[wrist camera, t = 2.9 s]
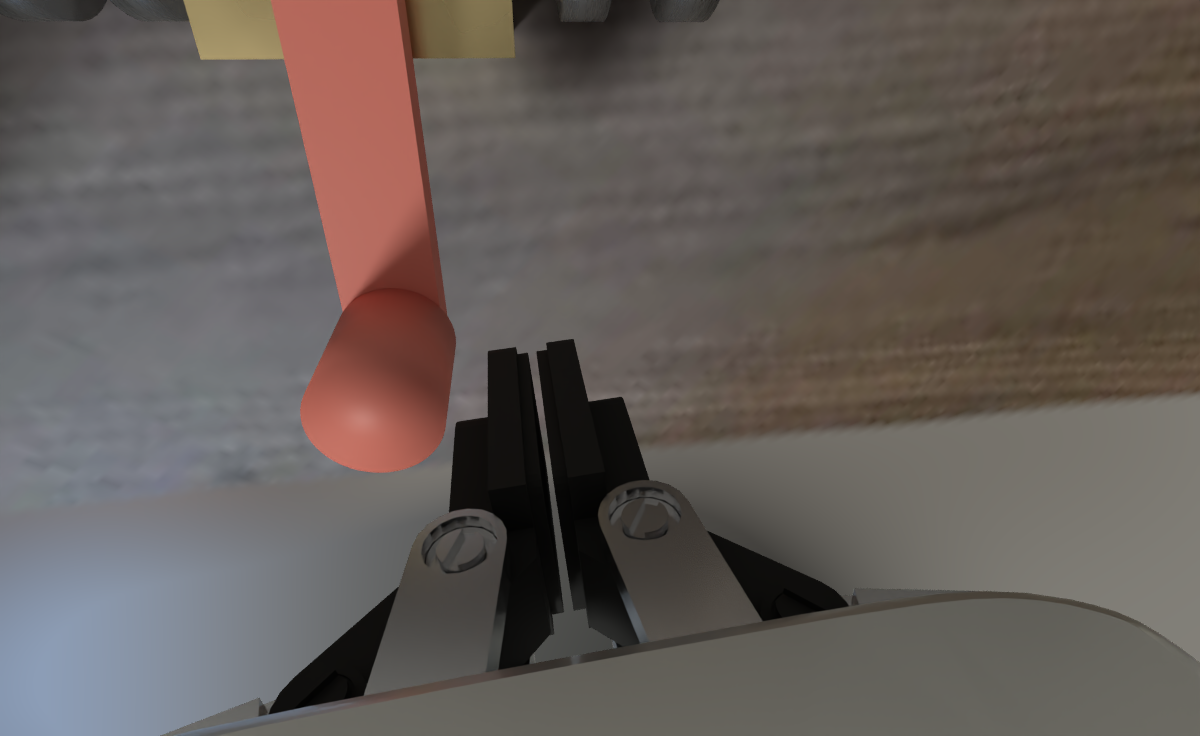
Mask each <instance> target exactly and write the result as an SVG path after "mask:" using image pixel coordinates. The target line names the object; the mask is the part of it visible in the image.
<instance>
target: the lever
mask: <svg viewBox="0 0 1200 736" xmlns="http://www.w3.org/2000/svg"><path fill="white" fill-rule="evenodd" d="M271 4H272V8H273V13H274V17H275V21H276V25H277V30H278V34H279V38H280V43H281V47H282V51H283V56H284V60H285V64H286V69H287V73H288V77H289V81H290V86H291V90H292V94H293V99H294V103H295V107H296V112H297V116H298V120H299V125H300V129H301V133H302V137H303V142H304V146H305V150H306V155H307V159H308V163H309V168H310V172H311V176H312V181H313V185H314V189H315V193H316V198H317V202H318V206H319V211H320V215H321V219H322V224H323V228H324V232H325V237H326V241H327V245H328V249H329V254H330V258H331V262H332V267H333V271H334V275H335V280H336V284H337V288H338V293H339V297H340V301H341V306H342V310H343V313H342V315H341V317H340V319H339V321H338V323H337V325H336V327H335V329H334V331H333V334H332V336H331V338H330V340H329V342H328V344H327V346H326V349H325V351H324V353H323V355H322V357H321V359H320V361H319V364H318V366H317V368H316V370H315V372H314V374H313V376H312V379H311V381H310V383H309V385H308V387H307V389H306V391H305V394H304V396H303V399H302V402H301V409H300V412H301V421H302V425H303V428H304V430H305V433H306V434H307V436H308V438H309V439H310V441H311V442H312V443H313V444H314V446H315V447H316V448H317V449H318V450H319V451H320V452H322V453H323V454H324V455H326V456H327V457H328V458H330V459H332V460H333V461H335V462H337V463H339V464H341V465H343V466H346V467H349V468H352V469H356V470H360V471H366V472H376V473H381V472H393V471H398V470H403V469H406V468H409V467H412V466H414V465H416V464H418V463H420V462H421V461H423V460H424V459H426V458H427V457H428V456H430V455H431V454H432V453H433V452H434V451H435V449H436V448H437V447H438V445H439V444H440V442H441V440H442V438H443V435H444V432H445V427H446V419H447V411H448V403H449V395H450V387H451V379H452V371H453V363H454V355H455V347H456V337H455V332H454V329H453V326H452V323H451V322H450V320H449V318H448V316H447V310H446V303H445V295H444V288H443V280H442V273H441V265H440V258H439V251H438V243H437V236H436V228H435V221H434V213H433V206H432V198H431V191H430V184H429V176H428V169H427V161H426V154H425V146H424V139H423V131H422V124H421V117H420V109H419V102H418V94H417V87H416V79H415V72H414V64H413V57H412V50H411V42H410V35H409V27H408V20H407V12H406V5H405V0H271Z"/></svg>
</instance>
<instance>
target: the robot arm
mask: <svg viewBox="0 0 1200 736" xmlns="http://www.w3.org/2000/svg"><path fill="white" fill-rule="evenodd" d="M546 345H547V350H544V351H537V359H538V367H539V375H540V382H541V390H542V398H543V405H544V413H545V421H546V428H547V436H548V444H549V452H550V459H551V467H552V474H553V481H554V487H555V495H556V501H557V507H558V513H559V519H560V526H561V532H562V539H563V545H564V551H565V558H566V564H567V570H568V577H569V583H570V590H571V596H572V602H573V609H574V610H580V609H585V608H586V611H587V618H588V624H589V628H591V627H592V628H593V629H595V630H597V631H598V632H600V633H602V634H603V635H605V636H607V637H608V638H610V639H612V644H613V649H609V650H603V651H598V652H593V653H587V654H582V655H577V656H572V657H566V658H560V659H555V660H550V661H545V662H539V663H535V656H534V652H535V651H536V650H537V649H538V648H539V646H540V645H541V644H542V643H543V642H544V641H545V639H546V638H547V637H548V636H549V635H553V634H554V629H553V618H552V614H557V613H563V612H564V609H563V600H562V592H561V584H560V575H559V567H558V559H557V550H556V542H555V535H554V525H553V518H552V509H551V501H550V492H549V484H548V476H547V468H546V461H545V455H544V449H543V443H542V437H541V430H540V424H539V418H538V412H537V406H536V400H535V394H534V387H533V381H532V375H531V369H530V363H529V357H528V353H523V354H517V350H516V347H513V348H506V349H499V350H492V351H488V417H486V418H479V419H472V420H466V421H459V422H457V423H456V427H455V438H454V452H453V465H452V479H451V494H450V507H449V513H447V514H445V515H442V516H440V517H438V518H437V519H435V520H434V521H432V522H431V523H429V524H428V525H427V526H426V527H425V528H424V529H423V530H422V531H421V532H420V533H419V534H418V536H417V537H416V539H415V541H414V543H413V545H412V548H411V551H410V554H409V557H408V560H407V564H406V566H405V570H404V573H403V576H402V579H401V582H400V585H399V587H398V588H396V589H395V590H394V591H393V592H392V593H391V594H390V595H388V596H387V597H386V598H385V599H384V600H383V601H382V602H380V603H379V604H378V605H377V606H376V607H375V608H374V609H372V610H371V611H370V612H369V613H368V614H367V615H365V616H364V617H363V618H362V619H361V620H360V621H359V622H357V623H356V624H355V625H354V626H353V627H352V628H351V629H349V630H348V631H347V632H346V633H345V634H344V635H342V636H341V637H340V638H339V639H338V640H337V641H336V642H334V643H333V644H332V645H331V646H330V647H329V648H328V649H326V650H325V651H324V652H323V653H322V654H321V655H319V656H318V657H317V658H316V659H315V660H314V661H313V662H312V663H310V664H309V665H308V666H307V667H306V668H305V669H303V670H302V671H301V672H300V673H299V674H298V675H297V676H295V677H294V678H293V680H291V681H290V682H289V684H288V685H287V686H286V687H285V688H284V689H283V690H282V691H281V692H280V694H279V695H278V697H277V699H276V700H274V701H271V702H269V703H267V704H263V703H262V701H261V699H260V698H257V699H255V700H252V701H249V702H247V703H244V704H241V705H239V706H236V707H234V708H231V709H229V710H226V711H224V712H221V713H218V714H216V715H213V716H210V717H208V718H205V719H203V720H200V721H197V722H195V723H192V724H190V725H187V726H184V727H182V728H179V729H177V730H175V731H172V732H169V733H166V734H164V735H161V736H1200V662H1198V661H1197V660H1196V659H1195V658H1193V657H1192V656H1191V655H1189V654H1188V653H1187V652H1185V651H1184V650H1183V649H1181V648H1180V647H1179V646H1177V645H1176V644H1174V643H1173V642H1171V641H1170V640H1168V639H1167V638H1165V637H1164V636H1162V635H1161V634H1159V633H1158V632H1156V631H1154V630H1153V629H1151V628H1149V627H1147V626H1146V625H1144V624H1142V623H1141V622H1139V621H1137V620H1134V619H1132V618H1130V617H1127V616H1125V615H1122V614H1120V613H1118V612H1116V611H1112V610H1109V609H1106V608H1102V607H1099V606H1096V605H1092V604H1088V603H1084V602H1079V601H1075V600H1071V599H1063V598H1056V597H1050V596H1043V595H1037V594H1030V593H1018V592H995V591H955V590H953V591H952V590H951V591H950V590H912V589H871V588H854V591H853V595H839V594H838V593H837V592H836V591H835V590H834V589H832V588H830V587H829V586H827V585H825V584H824V583H822V582H820V581H818V580H816V579H813V578H811V577H809V576H807V575H804V574H802V573H800V572H798V571H796V570H793V569H791V568H789V567H787V566H784V565H782V564H780V563H777V562H776V561H773V560H771V559H769V558H767V557H764V556H762V555H760V554H758V553H755V552H753V551H751V550H749V549H746V548H744V547H742V546H740V545H738V544H735V543H733V542H731V541H729V540H727V539H724V538H722V537H720V536H718V535H715V534H713V533H711V532H709V531H707V530H706V529H705V527H704V526H703V524H702V522H701V521H700V519H699V517H698V516H697V514H696V513H695V511H694V509H693V508H692V506H691V504H690V503H689V501H688V500H687V498H686V497H685V496H684V495H683V494H682V493H681V492H680V491H679V490H677V489H676V488H674V487H672V486H671V485H669V484H665V483H662V482H658V481H650V480H649V477H648V474H647V471H646V468H645V465H644V462H643V458H642V455H641V452H640V449H639V446H638V443H637V440H636V437H635V434H634V430H633V427H632V424H631V421H630V418H629V415H628V412H627V409H626V406H625V403H624V400H623V398H622V397H617V398H610V399H604V400H597V401H591V402H588V398H587V394H586V390H585V385H584V381H583V377H582V373H581V369H580V364H579V360H578V356H577V352H576V347H575V343H574V339H569V340H562V341H555V342H548V343H546Z"/></svg>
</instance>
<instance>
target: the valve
mask: <svg viewBox="0 0 1200 736" xmlns="http://www.w3.org/2000/svg"><path fill="white" fill-rule="evenodd" d="M106 1H107V0H0V14H2V15H4V16H7V17H9V18H12V19H16V20H21V21H86V20H89V19H92V18H93V17H95V16H96V15H98V13H99V12H100V11H101V10H102V9H103V7H104V5H105V3H106ZM110 1H111V2H112V3H113V4H114V5H115V6H116V7H118V8H119V9H120V10H122V11H123V12H125V13H126V14H127V15H129V16H131V17H133V18H135V19H138V20H142V21H190V24H191V28H192V31H193V34H194V38H195V41H196V44H197V48H198V51H199V55H200V58H201V59H284V56H283V51H282V47H281V43H280V38H279V34H278V30H277V25H276V21H275V17H274V13H273V8H272V4H271V0H110ZM556 1H557V8H558V14H559V19H560V21H561V22H604V21H605V20H606V18H607V16H608V13H609V9H610V5H611V0H556ZM718 2H719V0H650V4H651V8H652V11H653V14H654V16H655V18H656V19H657V20H658V21H659V22H704V21H706V20H707V19H708V18H709V17H710V16H711V15H712V13H713V12H714V10H715V8H716V6H717V4H718ZM405 5H406V12H407V20H408V27H409V35H410V42H411V50H412V57H413V58H515V47H514V29H513V11H512V0H405Z"/></svg>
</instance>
